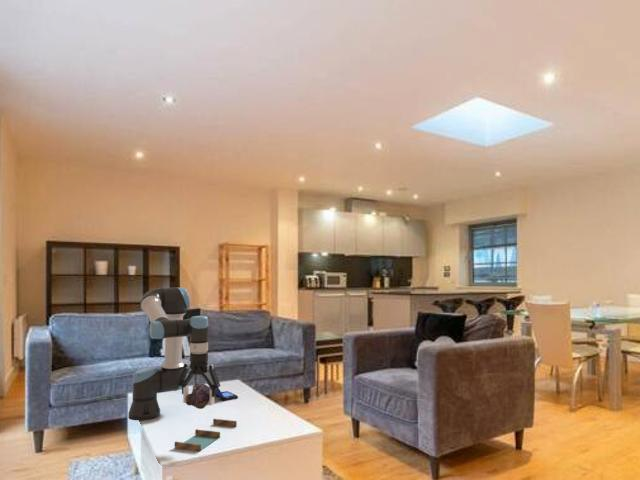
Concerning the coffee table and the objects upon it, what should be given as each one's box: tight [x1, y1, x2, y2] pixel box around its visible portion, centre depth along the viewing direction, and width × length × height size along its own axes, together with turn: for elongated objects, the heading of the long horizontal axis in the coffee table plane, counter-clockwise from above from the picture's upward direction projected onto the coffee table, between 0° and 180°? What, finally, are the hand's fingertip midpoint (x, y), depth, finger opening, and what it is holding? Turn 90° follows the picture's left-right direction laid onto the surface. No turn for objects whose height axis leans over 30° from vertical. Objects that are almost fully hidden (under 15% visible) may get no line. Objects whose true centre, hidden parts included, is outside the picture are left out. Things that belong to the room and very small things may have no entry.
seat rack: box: [174, 418, 238, 453], centre depth 199 cm, size 12×31×2 cm, turn 162°
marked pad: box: [183, 435, 219, 451], centre depth 191 cm, size 12×13×1 cm
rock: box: [185, 383, 211, 410], centre depth 193 cm, size 12×9×10 cm
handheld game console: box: [206, 382, 239, 402], centre depth 261 cm, size 16×13×9 cm
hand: (198, 403), depth 193 cm, fingers closed on rock, 12 cm apart
